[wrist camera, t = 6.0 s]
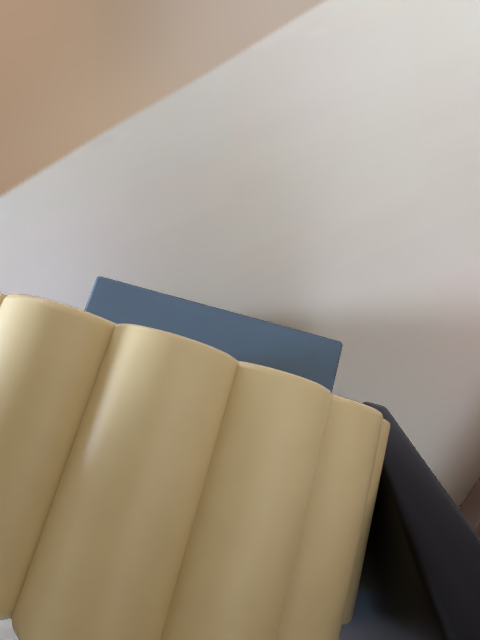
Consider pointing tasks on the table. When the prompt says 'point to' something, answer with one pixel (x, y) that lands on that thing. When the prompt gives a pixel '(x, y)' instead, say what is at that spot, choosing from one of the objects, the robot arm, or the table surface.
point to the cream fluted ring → (173, 486)
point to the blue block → (219, 330)
